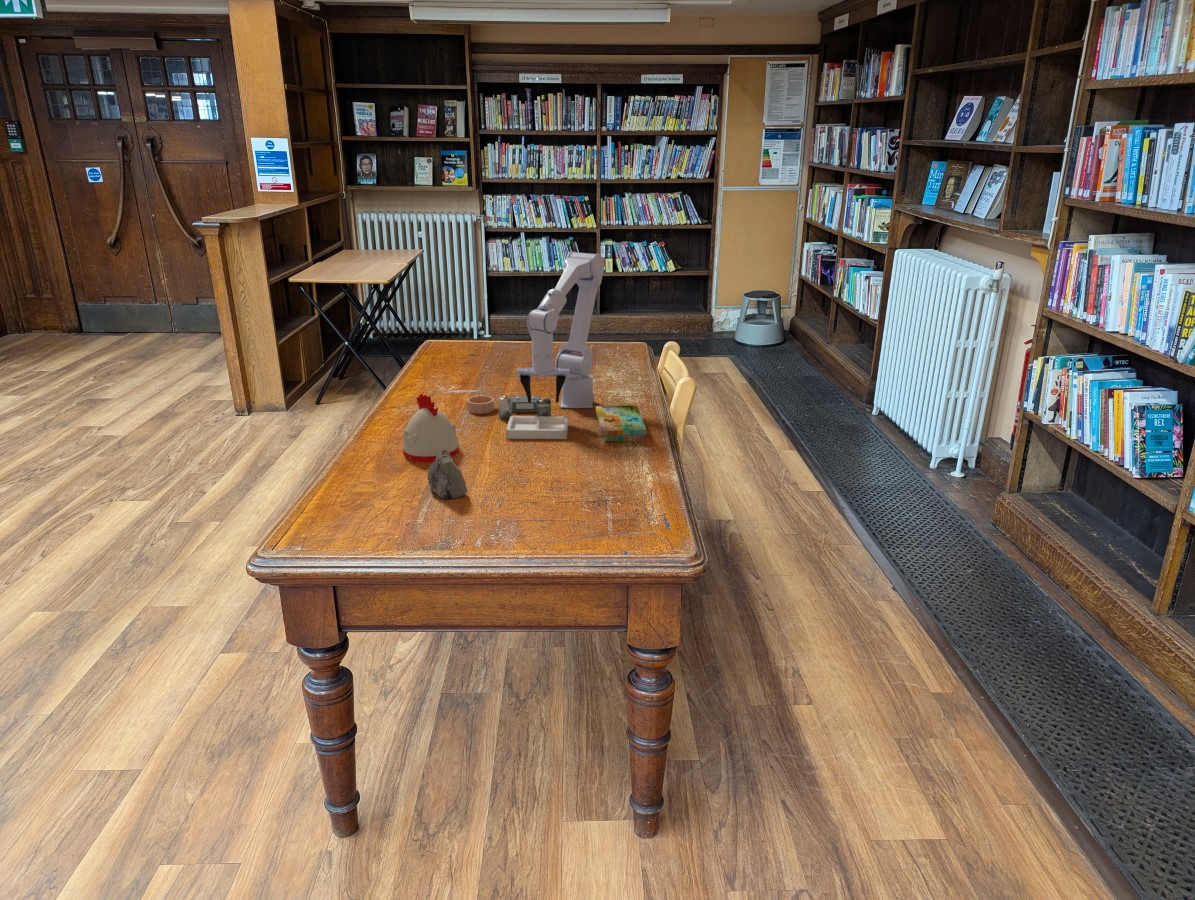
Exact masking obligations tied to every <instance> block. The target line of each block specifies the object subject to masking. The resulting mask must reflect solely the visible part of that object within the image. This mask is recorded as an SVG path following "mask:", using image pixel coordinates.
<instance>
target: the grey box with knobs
mask: <svg viewBox="0 0 1195 900" xmlns="http://www.w3.org/2000/svg"><path fill="white" fill-rule="evenodd" d="M511 397H512V408H513V413H537V406H536V400H537V399H539V398H541V395H531V402H528V398H527V395H512V396H511Z"/></svg>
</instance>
